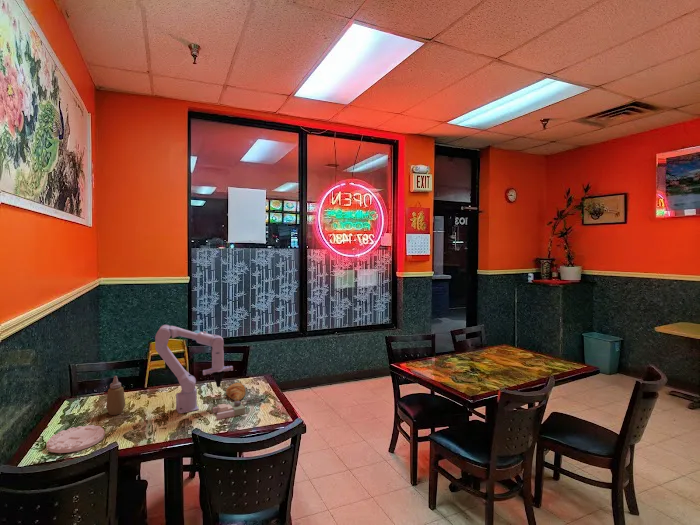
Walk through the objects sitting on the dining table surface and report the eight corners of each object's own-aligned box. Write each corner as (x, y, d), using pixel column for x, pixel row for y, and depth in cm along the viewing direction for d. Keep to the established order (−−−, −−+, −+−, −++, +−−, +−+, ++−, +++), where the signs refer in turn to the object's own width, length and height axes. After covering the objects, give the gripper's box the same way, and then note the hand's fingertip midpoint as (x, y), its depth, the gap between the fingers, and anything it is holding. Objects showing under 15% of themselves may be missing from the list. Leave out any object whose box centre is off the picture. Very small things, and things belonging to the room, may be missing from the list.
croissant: (243, 408, 210) (250, 394, 211) (225, 402, 206) (232, 388, 207) (239, 393, 230) (246, 380, 230) (223, 387, 226) (230, 374, 227)
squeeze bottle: (116, 417, 190) (116, 379, 189) (102, 415, 192) (101, 378, 191) (129, 410, 198) (128, 374, 197) (115, 408, 200) (114, 373, 199)
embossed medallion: (68, 459, 154) (68, 451, 154) (34, 449, 161) (34, 441, 161) (115, 436, 172) (115, 429, 172) (83, 427, 179) (83, 421, 179)
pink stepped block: (220, 417, 192) (220, 408, 192) (217, 413, 196) (217, 404, 196) (233, 414, 195) (232, 405, 195) (230, 410, 199) (230, 402, 199)
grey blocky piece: (217, 419, 188) (217, 410, 188) (212, 412, 197) (212, 402, 197) (245, 413, 195) (245, 404, 195) (238, 406, 204) (238, 397, 203)
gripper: (204, 364, 197) (205, 391, 197) (234, 359, 204) (234, 386, 205) (201, 360, 203) (202, 387, 203) (230, 356, 210) (231, 382, 211)
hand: (218, 386), depth 204 cm, fingers closed
